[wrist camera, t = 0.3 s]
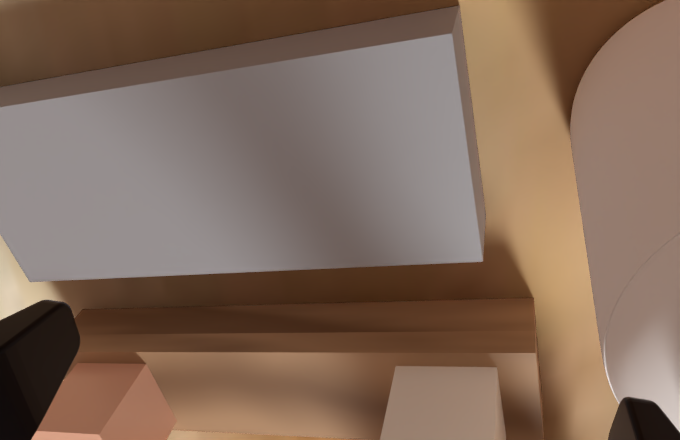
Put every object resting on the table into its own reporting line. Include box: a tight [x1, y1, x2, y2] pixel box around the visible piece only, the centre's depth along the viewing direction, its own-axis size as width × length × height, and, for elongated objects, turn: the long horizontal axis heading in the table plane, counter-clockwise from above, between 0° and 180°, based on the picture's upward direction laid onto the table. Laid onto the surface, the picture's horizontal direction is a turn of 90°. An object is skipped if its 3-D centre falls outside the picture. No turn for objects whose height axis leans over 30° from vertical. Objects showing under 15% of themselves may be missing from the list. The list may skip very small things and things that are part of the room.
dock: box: [0, 5, 486, 282], centre depth 23 cm, size 8×20×3 cm, turn 104°
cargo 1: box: [31, 363, 177, 440], centre depth 29 cm, size 4×4×4 cm
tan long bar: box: [64, 298, 544, 440], centre depth 29 cm, size 6×23×4 cm, turn 104°
